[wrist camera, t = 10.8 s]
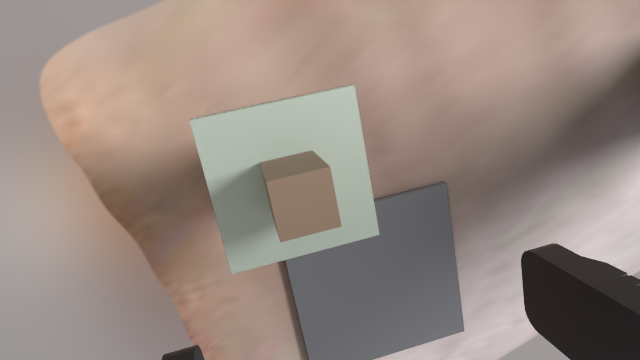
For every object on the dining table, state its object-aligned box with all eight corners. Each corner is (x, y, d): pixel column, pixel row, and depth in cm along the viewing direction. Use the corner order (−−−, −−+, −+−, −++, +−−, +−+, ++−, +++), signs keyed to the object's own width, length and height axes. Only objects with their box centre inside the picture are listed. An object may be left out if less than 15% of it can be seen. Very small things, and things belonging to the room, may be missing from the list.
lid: (349, 84, 25) (382, 87, 20) (374, 229, 27) (408, 266, 22) (190, 118, 24) (180, 131, 18) (231, 267, 26) (232, 315, 21)
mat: (443, 181, 41) (446, 183, 40) (461, 327, 45) (464, 330, 45) (276, 224, 39) (277, 226, 38) (312, 373, 43) (313, 378, 42)
